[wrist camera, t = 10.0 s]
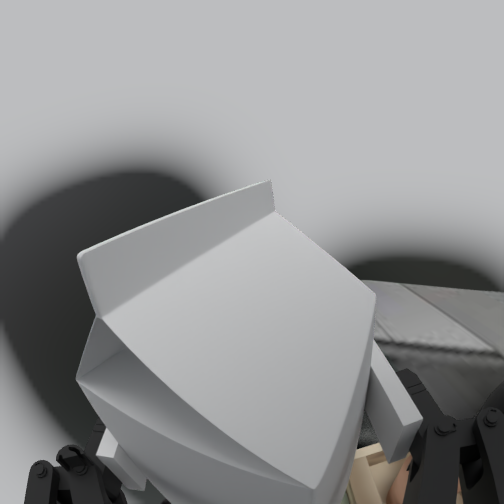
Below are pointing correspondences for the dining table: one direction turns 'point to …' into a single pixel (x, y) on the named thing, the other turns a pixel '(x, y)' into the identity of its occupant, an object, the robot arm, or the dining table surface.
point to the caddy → (379, 478)
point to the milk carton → (229, 354)
